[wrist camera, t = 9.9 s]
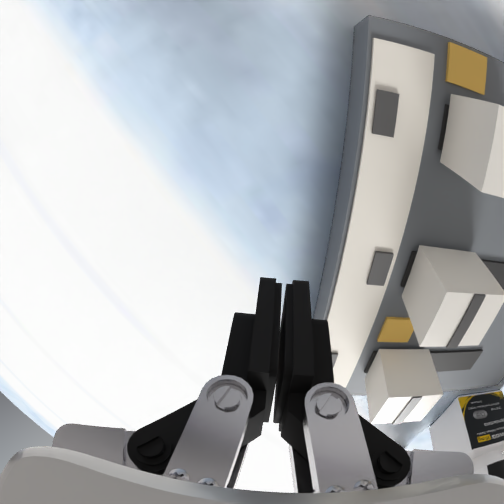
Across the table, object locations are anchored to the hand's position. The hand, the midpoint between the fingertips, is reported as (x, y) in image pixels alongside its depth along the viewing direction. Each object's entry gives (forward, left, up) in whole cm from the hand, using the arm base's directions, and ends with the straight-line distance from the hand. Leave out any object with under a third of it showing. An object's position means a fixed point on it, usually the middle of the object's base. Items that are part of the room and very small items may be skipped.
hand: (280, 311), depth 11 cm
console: (-11, 0, -7) cm, 13 cm away
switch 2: (-8, -7, -4) cm, 11 cm away
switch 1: (-8, +7, -4) cm, 11 cm away
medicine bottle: (-24, +20, -7) cm, 32 cm away
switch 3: (-8, 0, -4) cm, 9 cm away
